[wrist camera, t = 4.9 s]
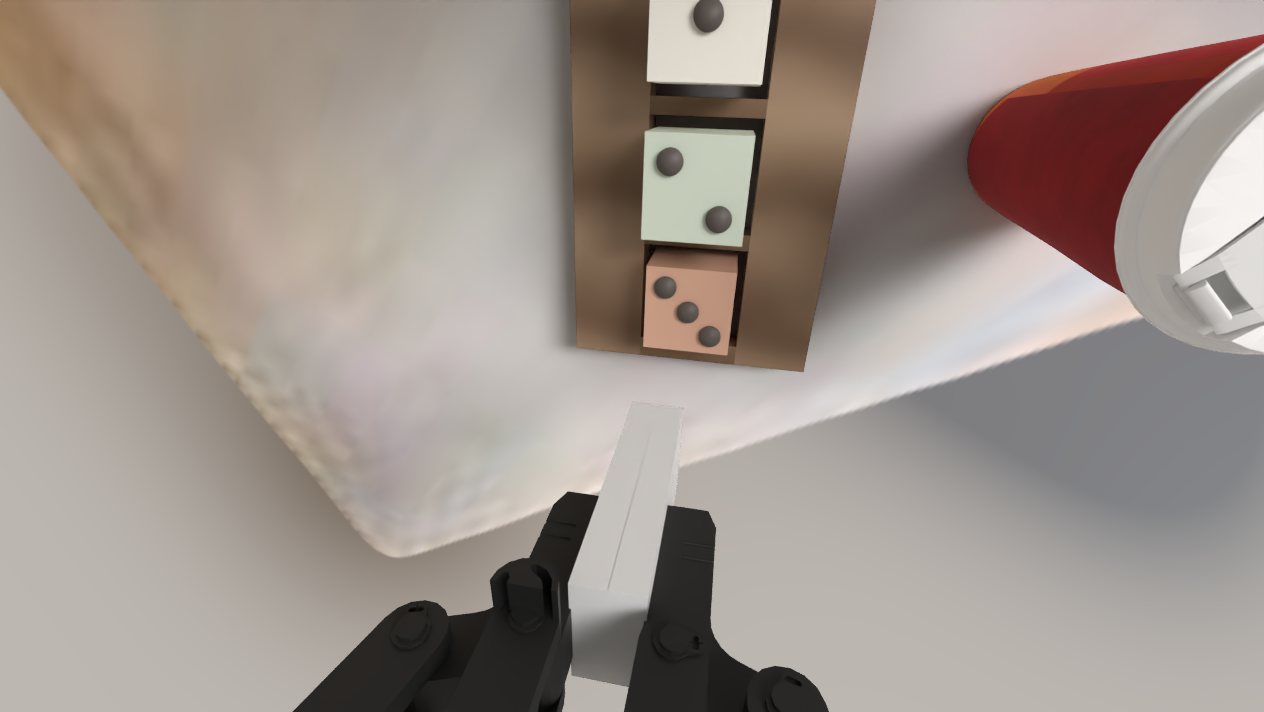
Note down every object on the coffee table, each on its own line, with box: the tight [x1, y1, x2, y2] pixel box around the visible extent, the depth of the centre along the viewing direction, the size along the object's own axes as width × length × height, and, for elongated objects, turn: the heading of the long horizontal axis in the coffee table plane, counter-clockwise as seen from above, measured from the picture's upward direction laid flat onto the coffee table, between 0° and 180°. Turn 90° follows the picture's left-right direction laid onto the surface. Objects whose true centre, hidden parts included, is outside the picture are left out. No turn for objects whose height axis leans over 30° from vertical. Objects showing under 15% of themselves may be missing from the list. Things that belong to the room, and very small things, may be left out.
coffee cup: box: [967, 34, 1264, 355], centre depth 18 cm, size 8×8×15 cm
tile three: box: [643, 246, 738, 355], centre depth 28 cm, size 4×4×4 cm
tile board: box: [570, 0, 876, 372], centre depth 27 cm, size 20×13×2 cm, turn 178°
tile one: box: [647, 0, 772, 86], centre depth 21 cm, size 4×4×4 cm
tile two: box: [641, 127, 756, 247], centre depth 24 cm, size 4×4×4 cm
